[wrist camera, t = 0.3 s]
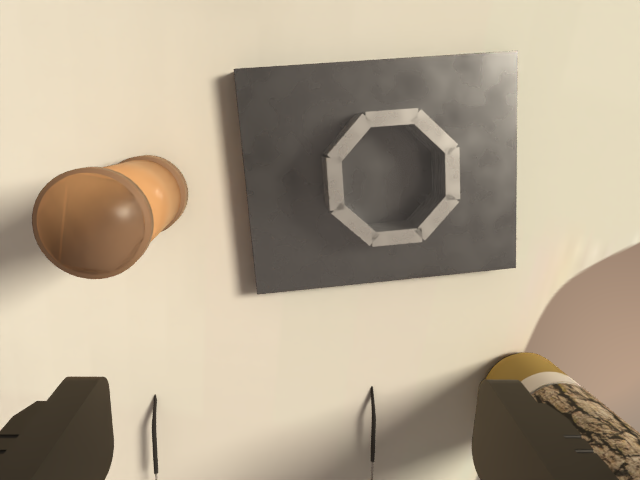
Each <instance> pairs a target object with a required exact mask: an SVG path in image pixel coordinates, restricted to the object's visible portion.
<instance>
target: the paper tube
mask: <svg viewBox="0 0 640 480" xmlns="http://www.w3.org/2000/svg"><path fill="white" fill-rule="evenodd" d="M486 379H491V380H519V381H521V382H522V384H523V385H524V386H525V387H526V389H527V390H528V391H529V393H530V394H531V395H532V396H533V398H534V399H535V400H536V401H537V403H546V404H547V405H549V406H550V407H552V408H553V409H555V410H556V411H558V412H559V413H561V414H562V415H564V416H565V417H567V418H568V420H569V421H570V422H571V423H572V424H573V426H574V427H575V428H576V429H577V430H578V431H579V433H580V434H581V437H582V438H584V439H585V440H586V441H587V442H588V443H589V445H590V446H591V447H592V448H593V449H594V450H593V451H594V453H597V454H598V455H599V456H600V458H601V459H602V460H603V461H604V462H605V464H606V465H607V466H608V467H609V468H610V470H611V471H612V472H613V473H614V474H615V476H616V477H617V478H618V479H619V480H640V433H639V432H637V431H636V430H635V429H633V428H632V427H631V426H630V425H629V424H627V423H626V422H625V421H624V420H623V419H621V418H620V417H619V416H617V415H616V414H615V413H614V412H612V411H611V410H610V409H609V408H608V407H606V406H605V405H604V404H603V403H601V402H600V401H599V400H598V399H596V398H595V397H594V396H593V395H592V394H590V393H589V392H588V391H586V390H585V389H584V388H583V387H582V386H580V385H579V384H578V383H577V382H575V381H574V380H573V379H572V378H570V377H569V376H568V375H566V374H565V373H564V372H562V371H561V370H560V369H559V368H558V367H556V366H555V365H554V364H552V363H551V362H550V361H549V360H547V359H546V358H544V357H542V356H540V355H538V354H534V353H517V354H513V355H510V356H508V357H506V358H504V359H502V360H501V361H499V362H498V363H497V364H496V365H495V366H494V367H493V368H492V369H491V370H490V372H489V374H488V375H487V377H486Z"/></svg>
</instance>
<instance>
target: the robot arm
mask: <svg viewBox="0 0 640 480" xmlns="http://www.w3.org/2000/svg"><path fill="white" fill-rule="evenodd" d="M113 450H114V436H113V425H112V414H111V402H110V391H109V384H108V381H107V379H106V378H105V377H66V378H65V379H64V380H63V381H62V382H61V384H60V385H59V386H58V387H57V389H56V390H55V391H54V392H53V394H52V395H51V396H50V397H49V398H48V400H47V401H36V402H35V403H33V404H32V405H30V406H29V407H27V408H25V409H24V410H22V411H21V412H19V413H18V414H16V415H14V416H13V417H12V418H11V419H10V420H9V422H8V423H7V424H6V425H5V426H4V427H3V428H2V430H1V431H0V480H105V478H106V476H107V474H108V472H109V469H110V466H111V462H112V457H113ZM593 450H594V449H593V448H592V447H591V446H590V445H589V443H588V442H587V441H586V440H585V439H584V438H582V437H581V434H580V433H579V431H578V430H577V429H576V428H575V427H574V426H573V424H572V423H571V422H570V421H569V420H568V418H567V417H565V416H564V415H562V414H561V413H559V412H558V411H556V410H555V409H553V408H552V407H550V406H549V405H547V404H546V403H537V401H536V400H535V399H534V398H533V396H532V395H531V394H530V393H529V391H528V390H527V389H526V387H525V386H524V385H523V384H522V382H521V381H519V380H491V379H485V380H483V381H482V382H481V383H480V386H479V391H478V399H477V406H476V414H475V421H474V429H473V437H472V455H473V461H474V466H475V469H476V471H477V474H478V476H479V478H480V480H619V479H618V478H617V477H616V476H615V474H614V473H613V472H612V471H611V470H610V468H609V467H608V466H607V465H606V464H605V462H604V461H603V460H602V459H601V458H600V456H599V455H598V454H597V453H594V451H593Z"/></svg>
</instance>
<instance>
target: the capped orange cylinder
mask: <svg viewBox="0 0 640 480" xmlns="http://www.w3.org/2000/svg"><path fill="white" fill-rule="evenodd" d="M187 200H188V188H187V184H186V181H185V179H184V177H183V175H182V173H181V172H180V171H179V169H178V168H177V167H176V166H175V165H173V164H172V163H171V162H169V161H167V160H166V159H163V158H161V157H157V156H152V155H144V156H138V157H133V158H129V159H126V160H124V161H122V162H120V163H119V164H116V165H111V166H107V167H103V168H102V167H85V168H79V169H75V170H71V171H67V172H65V173H63V174H60V175H58V176H57V177H55V178H54V179H52V180H51V181H50V182H49V183H47V185H46V186H45V187H44V188H43V189H42V191H41V192H40V194H39V195H38V197H37V199H36V201H35V205H34V208H33V214H32V226H33V232H34V236H35V239H36V241H37V243H38V245H39V247H40V249H41V250H42V252H43V253H44V254H45V256H46V257H47V258H48V259H49V260H50V261H51V262H52V263H53V264H54V265H56V266H57V267H58V268H60V269H61V270H63V271H65V272H67V273H69V274H71V275H74V276H77V277H81V278H87V279H102V278H108V277H112V276H115V275H118V274H120V273H122V272H124V271H125V270H127V269H128V268H130V267H131V266H132V265H133V264H134V263H135V262H136V261H137V260H138V259H139V258H140V257H141V256H142V255H143V254H144V252H145V251H146V249H147V248H148V246H149V244H150V242H151V241H152V240H153V239H154V238H155V237H156V236H157V235H158V234H159V233H160V232H162V231H164V230H166V229H167V228H169V227H170V226H171V225H172V224H173V223H174V222H175V221H176V220H177V219H178V218H179V217H180V216H181V215H182V213H183V212H184V210H185V207H186V205H187Z"/></svg>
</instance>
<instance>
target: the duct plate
mask: <svg viewBox="0 0 640 480" xmlns="http://www.w3.org/2000/svg"><path fill="white" fill-rule="evenodd" d="M517 66H518V51H505V52H489V53H474V54H458V55H443V56H427V57H412V58H396V59H381V60H365V61H350V62H334V63H319V64H303V65H288V66H272V67H257V68H241V69H234V75H235V85H236V94H237V104H238V113H239V123H240V133H241V142H242V152H243V161H244V171H245V180H246V190H247V199H248V209H249V219H250V228H251V238H252V247H253V257H254V266H255V276H256V286H257V294H265V293H275V292H285V291H294V290H304V289H314V288H323V287H333V286H343V285H353V284H362V283H372V282H382V281H392V280H401V279H411V278H421V277H430V276H440V275H450V274H460V273H469V272H479V271H489V270H499V269H508V268H516V180H517Z"/></svg>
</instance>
